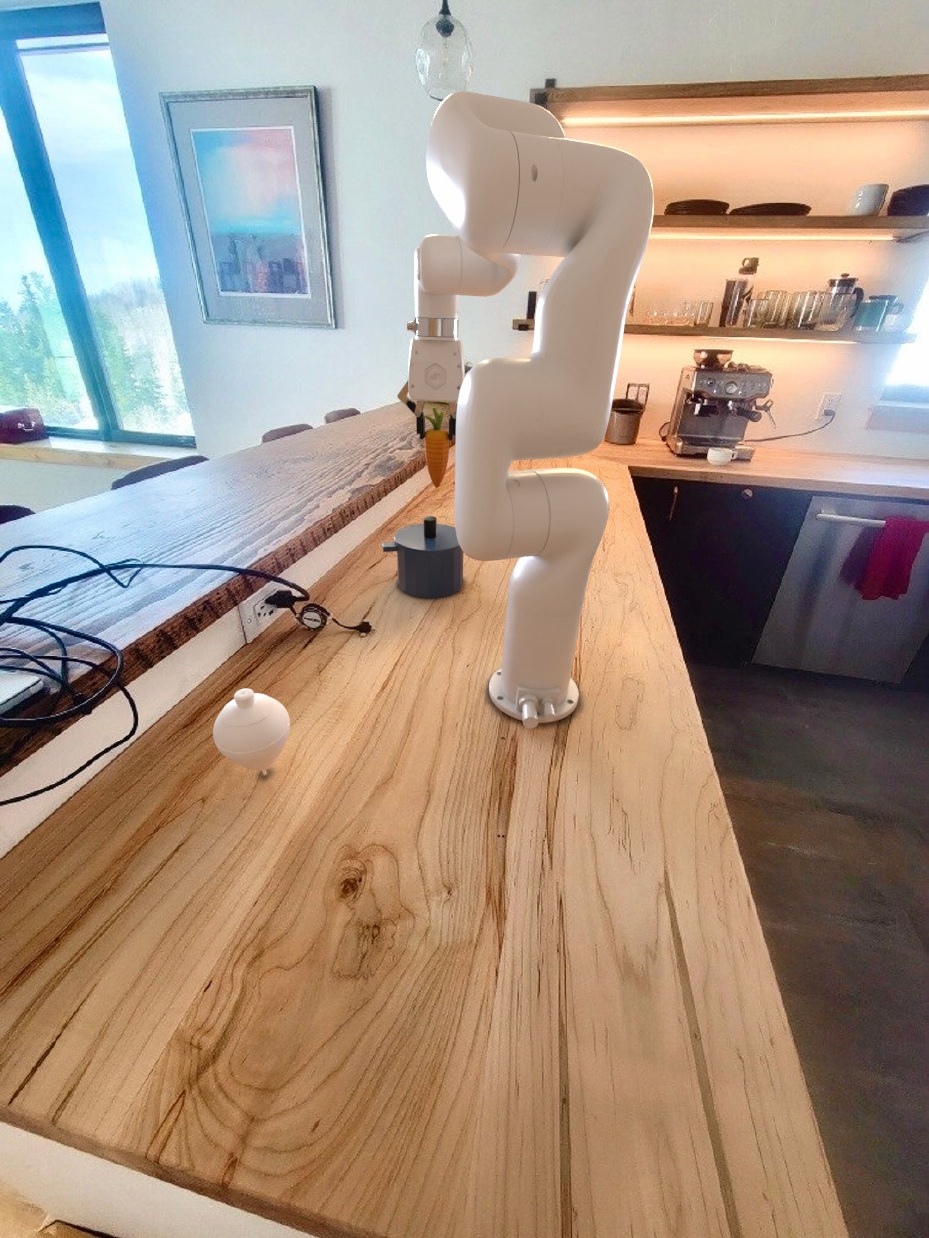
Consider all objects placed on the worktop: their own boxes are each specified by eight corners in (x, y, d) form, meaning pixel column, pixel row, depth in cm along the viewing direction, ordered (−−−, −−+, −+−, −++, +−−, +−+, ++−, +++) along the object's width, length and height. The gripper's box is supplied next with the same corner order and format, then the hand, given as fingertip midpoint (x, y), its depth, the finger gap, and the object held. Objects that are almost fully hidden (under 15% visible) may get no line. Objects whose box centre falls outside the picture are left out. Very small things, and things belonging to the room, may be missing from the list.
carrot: (445, 492, 100) (446, 411, 92) (421, 490, 100) (420, 409, 93) (451, 485, 104) (452, 407, 96) (428, 483, 105) (427, 406, 97)
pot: (481, 594, 97) (484, 548, 92) (387, 601, 93) (385, 554, 88) (467, 566, 107) (468, 524, 102) (382, 572, 104) (379, 529, 99)
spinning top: (275, 740, 62) (256, 662, 56) (313, 771, 58) (297, 690, 52) (215, 777, 57) (188, 695, 51) (252, 814, 53) (227, 730, 47)
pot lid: (473, 553, 91) (474, 529, 89) (398, 558, 89) (397, 533, 86) (457, 527, 103) (458, 505, 100) (391, 530, 100) (389, 508, 98)
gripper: (384, 329, 85) (389, 441, 94) (485, 332, 84) (480, 444, 94) (392, 328, 91) (396, 433, 101) (485, 331, 91) (481, 436, 100)
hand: (436, 437), depth 97 cm, fingers closed on carrot, 4 cm apart
